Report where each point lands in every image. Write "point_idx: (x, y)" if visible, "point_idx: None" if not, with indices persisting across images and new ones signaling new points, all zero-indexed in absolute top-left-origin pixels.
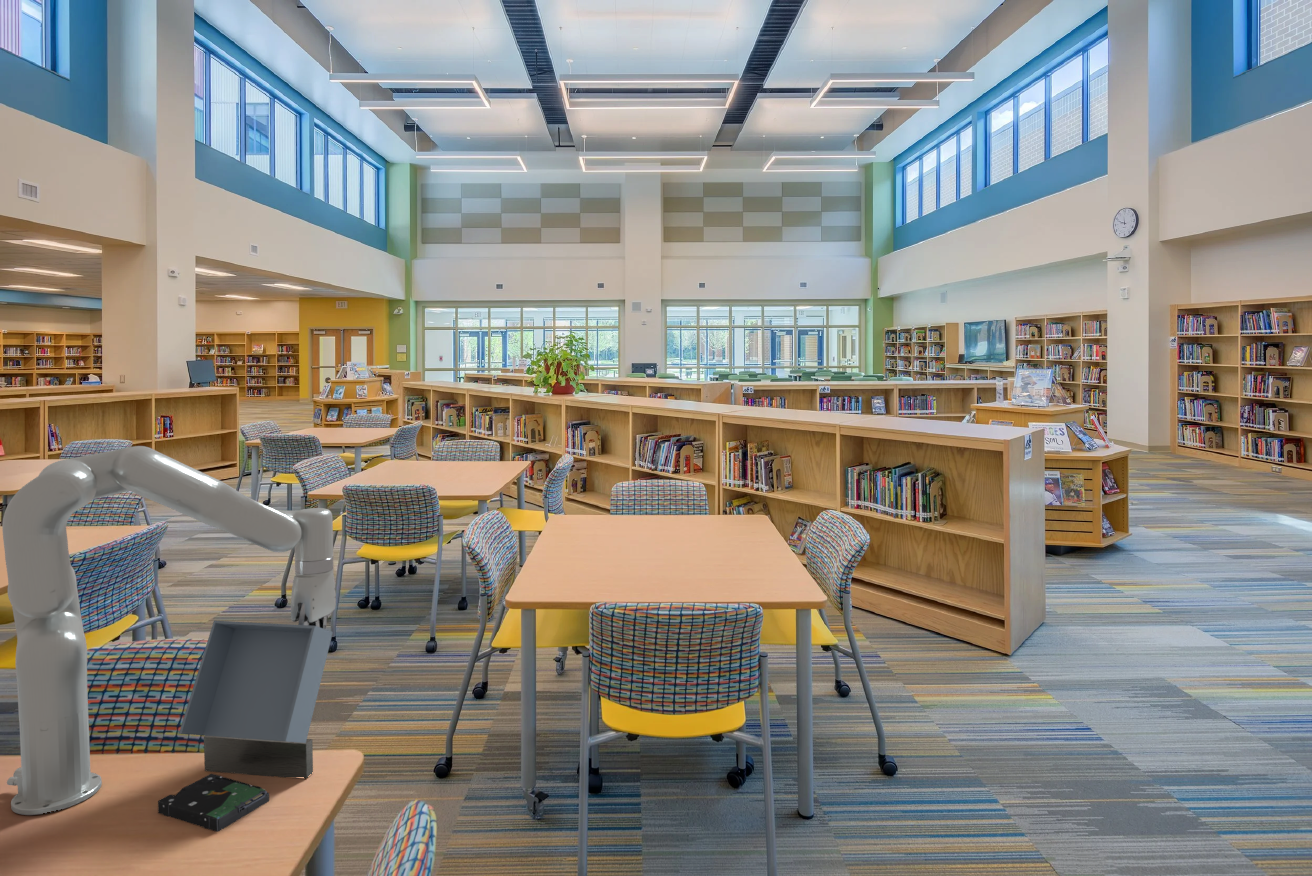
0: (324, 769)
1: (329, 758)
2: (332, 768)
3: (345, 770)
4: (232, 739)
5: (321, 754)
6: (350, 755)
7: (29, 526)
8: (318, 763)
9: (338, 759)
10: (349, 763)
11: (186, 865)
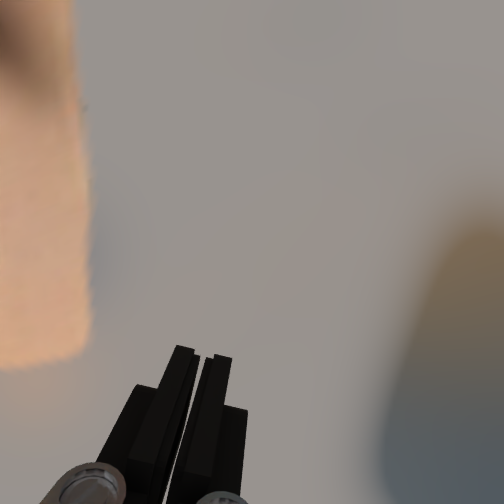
0: (7, 314)
1: (59, 311)
2: (14, 330)
3: (8, 358)
4: None
5: (77, 287)
6: (77, 352)
7: None
8: (33, 293)
9: (56, 332)
10: (40, 359)
11: None
